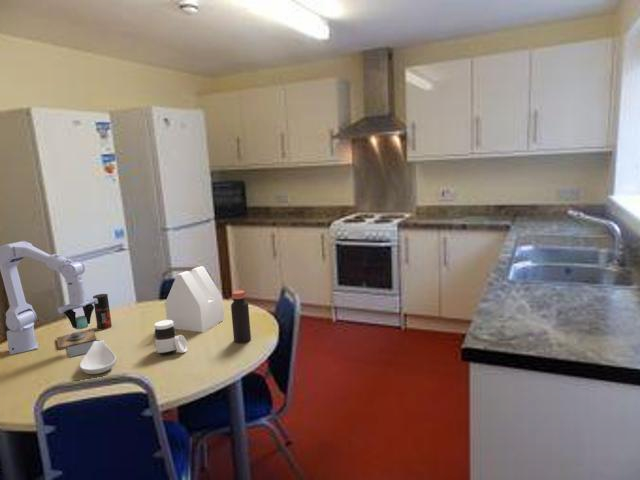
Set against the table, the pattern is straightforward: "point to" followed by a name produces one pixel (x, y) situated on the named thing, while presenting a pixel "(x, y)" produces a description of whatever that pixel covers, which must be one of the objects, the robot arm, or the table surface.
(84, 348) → the mat
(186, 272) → the white peaked block
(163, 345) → the spread jar
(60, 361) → the table surface
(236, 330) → the bottle
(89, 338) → the post board
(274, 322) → the table surface
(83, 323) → the teal ovoid with tab
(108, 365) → the spoon rest
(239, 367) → the table surface
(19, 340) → the robot arm
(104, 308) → the deodorant
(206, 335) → the table surface
